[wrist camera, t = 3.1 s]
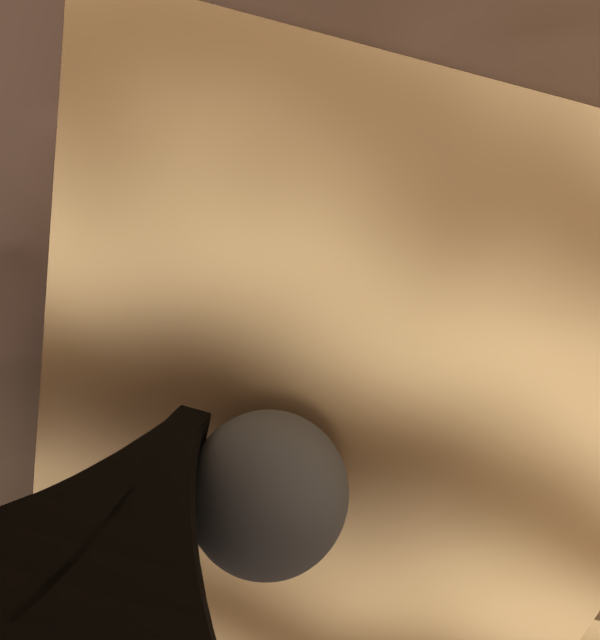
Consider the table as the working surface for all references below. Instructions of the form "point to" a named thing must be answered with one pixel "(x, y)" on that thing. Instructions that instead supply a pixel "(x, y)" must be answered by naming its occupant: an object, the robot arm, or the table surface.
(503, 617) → the deck
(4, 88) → the table surface
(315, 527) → the ball
